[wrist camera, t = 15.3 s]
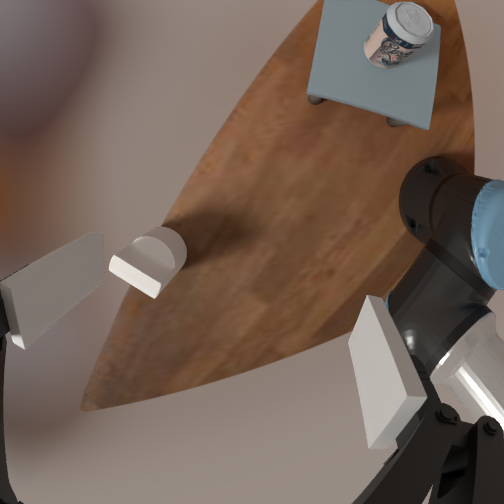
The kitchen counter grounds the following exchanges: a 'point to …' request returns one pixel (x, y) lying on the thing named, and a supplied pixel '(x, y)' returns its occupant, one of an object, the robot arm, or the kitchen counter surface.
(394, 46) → the beer can
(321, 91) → the pale blue square-topped fixture
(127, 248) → the base with upright slab
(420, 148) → the kitchen counter surface
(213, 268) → the kitchen counter surface
